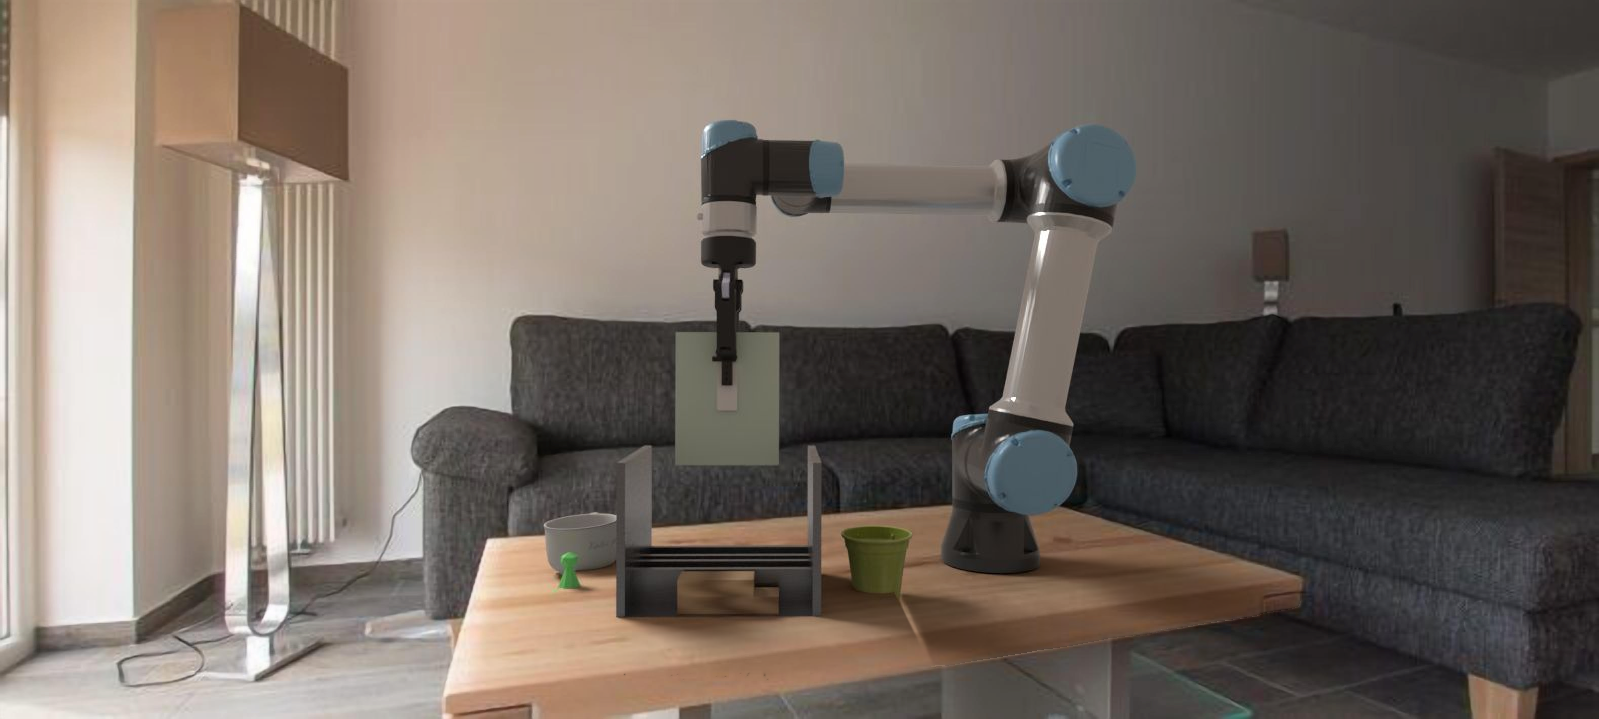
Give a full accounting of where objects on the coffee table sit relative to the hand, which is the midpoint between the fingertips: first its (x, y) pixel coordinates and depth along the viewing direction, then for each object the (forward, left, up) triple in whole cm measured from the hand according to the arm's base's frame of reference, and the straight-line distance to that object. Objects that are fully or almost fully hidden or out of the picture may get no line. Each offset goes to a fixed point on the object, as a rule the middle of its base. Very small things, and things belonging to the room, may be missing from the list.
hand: (728, 409), depth 112 cm
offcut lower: (-1, +13, -23) cm, 27 cm away
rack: (0, +6, -25) cm, 26 cm away
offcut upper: (0, +13, -21) cm, 25 cm away
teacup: (+22, -12, -25) cm, 35 cm away
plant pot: (-20, +3, -25) cm, 32 cm away
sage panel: (0, 0, -8) cm, 8 cm away
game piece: (+21, +2, -25) cm, 33 cm away
